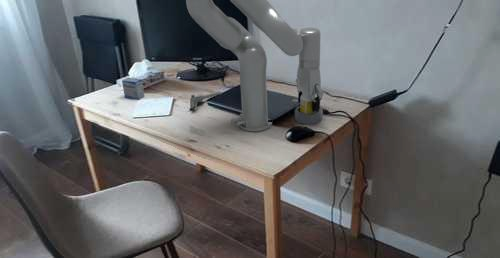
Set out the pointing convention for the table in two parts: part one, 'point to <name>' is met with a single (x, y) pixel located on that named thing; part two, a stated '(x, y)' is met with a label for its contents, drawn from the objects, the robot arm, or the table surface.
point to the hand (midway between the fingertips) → (308, 106)
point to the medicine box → (133, 88)
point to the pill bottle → (306, 104)
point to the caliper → (200, 98)
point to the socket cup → (308, 116)
